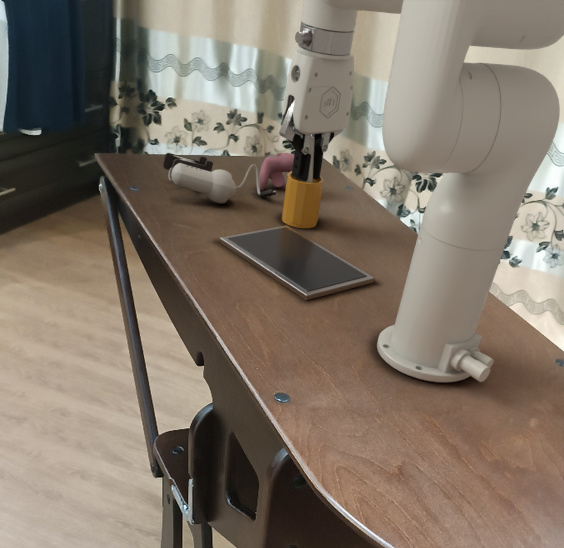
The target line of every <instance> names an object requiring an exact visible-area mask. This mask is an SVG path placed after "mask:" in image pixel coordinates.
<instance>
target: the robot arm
mask: <svg viewBox="0 0 564 548" xmlns="http://www.w3.org/2000/svg"><path fill="white" fill-rule="evenodd" d="M301 10H302V12H301V17H300V18H301V19H300V28H299V31H297V32H296V33H295V34H294V35H295V36H294V40H295V43H297V49H295V50H294V52H293V54H292V59H291V62H290V66H289V71H288V74H287V80H286V84H285V89H284V95H283V101H282V113H281V121H282V124H281V126H280V129H279V131H278V134H279V136H280V137H283V138H285V139H286V140H288V141H289V143H290V144H291V148H292V149H293V150H294V153H293V154H294V161H293V168H292V175H293V176H294V177H296V178H298V179H300V180H302V181H307V180H308V175H309V168H310V161H311V154H309V153H308V152H309V148H310V141H311V137H315V141H314V163H313V179H315V180H316V179H319V178H320V176H321V171H322V165H323V159H324V153H326V152H327V151H328V149H329V144H330V143H331V142H332V141H333V139H334V137H335V138H336V137H337V136H339V135H341V133H343V131H344V130H345V129H346V128H347V127H348V124H349V120H350V116H351V115H350V114H351V109H352V100H353V93H354V83H355V82H354V79H355V56H354V55H353V54H351V52H352V47H353V42H354V36H355V29H356V25H357V24H356V23H357V17H358V12H359V11H361V12H362V11H363V12H373V13H375V12H376V13H384V14H392V15H393V14H394V15H395V14H396V15H400V16H399V21H398V27H397V33H396V39H395V44H394V49H393V54H392V55H393V56H392V59H391V65H390V71H389V75H388V81H387V86H386V93H385V98H384V104H383V112H382V124H381V130H382V131H381V132H382V133H381V134H382V142H383V148H384V150H385V154H386V156H387V158H388V159H389V161H390V162H391V163H392V164H393V165H394V166H396V167H397V168H398V169H401V170H403V171H406V172H410V173H419V174H420V173H422V174H444V175H443V176H442V178H441V179H440V180H439V182H438V183H437V185H436V187H435V188H434V189H433V191H432V193H431V195H430V196H429V199H428V201H427V203H426V205H425V209H424V212H423V216H422V219H421V223H420V226H419V231H418V233H417V237H416V241H415V242H416V243H415V246H414V249H413V254H412V257H411V261H410V265H409V267H408V268H409V269H408V272H407V276H406V280H405V284H404V288H403V292H402V295H401V300H400V303H399V307H398V310H397V316H396V319H395V323H394V324H392V325H390V326H387V327H386V328H384V329H383V330H382V331H380V333H379V335H378V338H377V343H376V348H377V349H376V350H377V352H378V354H379V356H380V357H381V359H382V360H383V361H385V363H386V364H387V365H389V366H390V367H391V368H393V369H395V370H397V371H398V372H400V373H402V374H404V375H406V376H409V377H412V378H414V379H418V380H422V381H427V382H433V383H455V382H459V381H463V380H466V379H467V378H469V377H472V378H473V379H475V380H476V381H478V382H479V383H483V382H484V381H485V380H486V379H488V377H489V375H490V373H491V368H492V366H493V365H494V363H495V360H494V358H492V357H491V356H489V355H487V354H484V353H483V352H481V351H480V348H479V347H480V344H481V341H482V338H483V336H482V335H480V334H479V333H477V332H476V331H477V328H478V326H479V322H480V319H481V316H482V313H483V311H484V308H485V305H486V302H487V300H488V296H489V293H490V290H491V288H492V284H493V282H494V279H495V276H496V274H497V270H498V268H499V264H500V262H501V258H502V255H503V253H504V250H505V247H506V245H507V243H508V240H509V236H510V234H511V231H512V229H513V225H514V223H515V219H516V217H517V216H518V215H517V214H518V212H519V209H520V207H521V204H522V202H523V200H524V197H525V195H526V194H527V191H528V189H529V187H530V185H531V183H532V181H533V179H534V178H535V176H536V174H537V172H538V170H539V169H540V167H541V165H542V163H543V161H544V160H545V158H546V156H547V154H548V152H549V151H550V148H551V146H552V144H553V141H554V139H555V137H556V133H557V131H558V126H559V122H560V113H561V112H560V111H561V107H560V106H561V105H560V100H559V96H558V93H557V90H556V89H555V86H554V85H553V84H552V82H551V80H549V79H548V77H546V76H545V75H544V74H542V73H540V72H539V71H537V70H534V69H532V68H529V67H526V66H521V65H513V64H502V63H490V62H465V60H466V57H467V54H468V51H469V49H470V47H480V48H494V49H505V50H506V49H507V50H525V51H526V50H527V51H528V50H530V51H531V50H540V49H544V48H547V47H550V46H552V45H554V44H556V43H557V42H558V41H560V40H561V38H562V37H564V0H303V2H302V9H301Z"/></svg>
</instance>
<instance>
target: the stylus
mask: <svg viewBox="0 0 564 548" xmlns="http://www.w3.org/2000/svg"><path fill="white" fill-rule="evenodd" d="M314 141H315V137H312V136H311V141H310V148H309V152H308V153H309V154H311V161H310V168H309V175H308V180H307V181H302V180H301V181H302V182H307V183H313V163H314Z"/></svg>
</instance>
